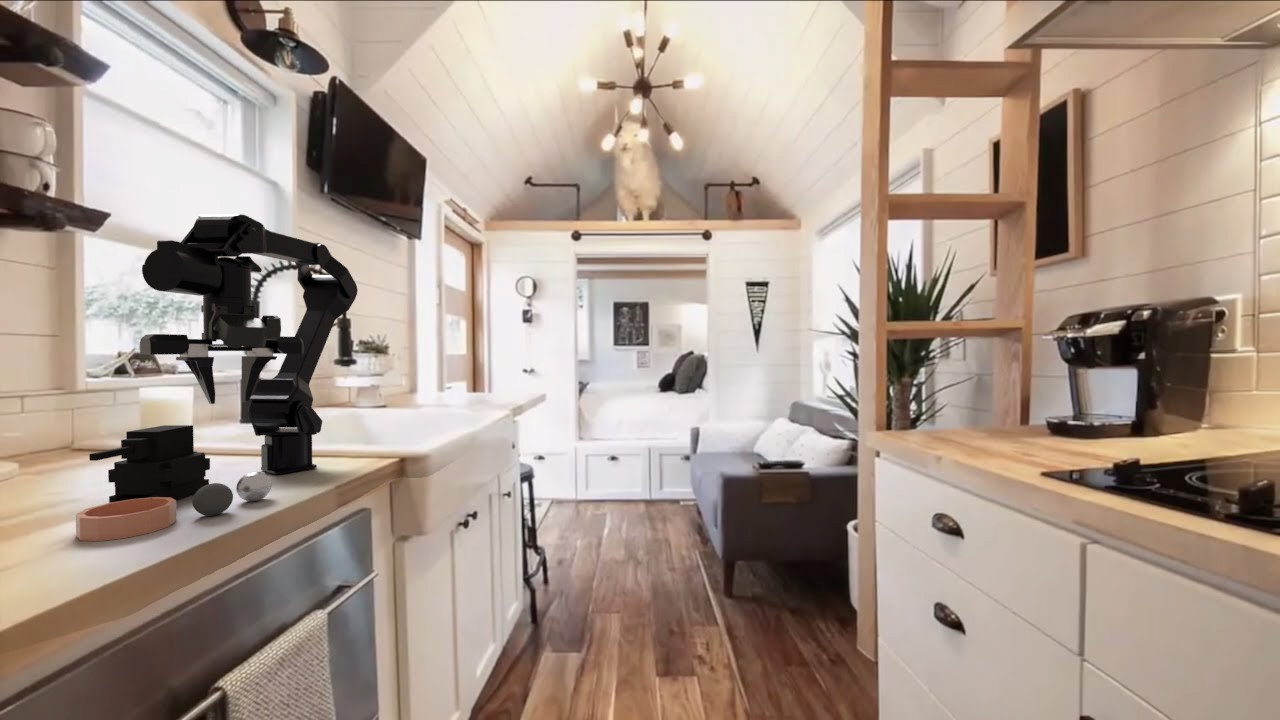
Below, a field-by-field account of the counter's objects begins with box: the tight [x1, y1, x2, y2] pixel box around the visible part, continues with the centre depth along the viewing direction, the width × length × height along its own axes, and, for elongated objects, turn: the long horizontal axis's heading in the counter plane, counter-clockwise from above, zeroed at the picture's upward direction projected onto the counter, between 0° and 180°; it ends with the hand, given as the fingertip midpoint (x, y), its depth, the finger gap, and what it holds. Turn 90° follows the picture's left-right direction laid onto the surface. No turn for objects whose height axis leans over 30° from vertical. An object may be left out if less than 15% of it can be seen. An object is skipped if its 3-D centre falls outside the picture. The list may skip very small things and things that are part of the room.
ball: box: [192, 482, 234, 517], centre depth 67 cm, size 4×4×4 cm
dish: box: [75, 497, 178, 542], centre depth 62 cm, size 8×8×2 cm
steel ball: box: [235, 471, 273, 502], centre depth 73 cm, size 4×4×4 cm
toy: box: [88, 424, 211, 503], centre depth 72 cm, size 8×14×10 cm, turn 2°
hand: (229, 402), depth 79 cm, fingers open, 4 cm apart
